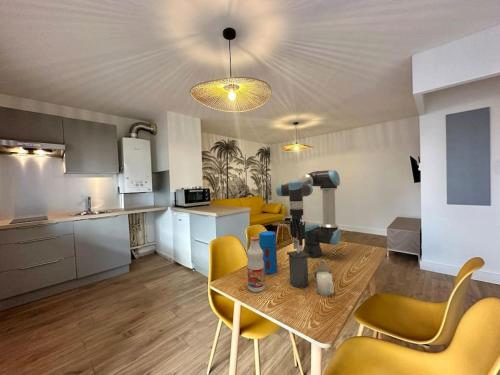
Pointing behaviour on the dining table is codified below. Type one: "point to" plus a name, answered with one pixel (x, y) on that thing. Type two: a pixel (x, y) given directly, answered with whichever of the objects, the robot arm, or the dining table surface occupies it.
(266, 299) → the dining table surface
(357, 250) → the dining table surface
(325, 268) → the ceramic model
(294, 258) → the press body
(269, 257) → the thermos
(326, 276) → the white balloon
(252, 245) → the fruit juice
